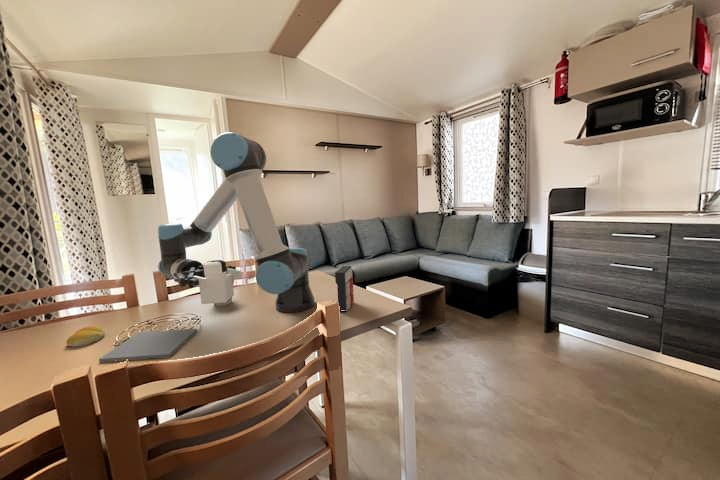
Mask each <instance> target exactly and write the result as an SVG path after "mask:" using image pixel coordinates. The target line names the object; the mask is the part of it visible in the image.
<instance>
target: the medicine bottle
mask: <svg viewBox="0 0 720 480" xmlns="http://www.w3.org/2000/svg"><path fill="white" fill-rule="evenodd" d="M202 265H203V266H204V275H205V276H206V277H205V278H207V284H208V288H202V287H199V292H200V293H199V294H200V301H201V304H202V305H207V304H209V305H210V304H214V303H226V302H227V301H228V300H229V299H230V298H231V297H232V298H233V297H234V295H235V291H234V286H233V279H232V274H226V273H227V271H226V266H227V263H226V261H225V260H221V259H219V260H215V259H214V260H209V261H206V262H205V263H203V264H202Z"/></svg>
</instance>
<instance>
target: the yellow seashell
mask: <svg viewBox="0 0 720 480" xmlns="http://www.w3.org/2000/svg"><path fill="white" fill-rule="evenodd" d="M105 334H106V332H105V330H104V328H103V327H100V326H98V325H89V326H84V327H81V328H79V329H78V330H76V331H75V332H74V333H73V334H72V335H70V336H69V337H68V338H67V340H66V346H67V347H68V346H69V347H75V348H76V347H82V346H86V345H90V344H93V343H95V342H98V341H99V340H101V339H102V338H103V337H104V336H105Z"/></svg>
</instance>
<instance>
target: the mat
mask: <svg viewBox="0 0 720 480" xmlns="http://www.w3.org/2000/svg"><path fill="white" fill-rule="evenodd" d="M196 333H198V328H188V329H187V328H186V329H185V328H184V329H171V330H155V331H144V332H143V331H142V332H141V331H140V332H138V333H136V334H134V335H133V336H131V337H129V338H128V339H126V340H125V341H124V342H122V343H121V344H120V345H118V346H116V347H115V348H113V349H112V350H111V351H108V353H106V354H104V355H103V356H101V357H100V358H99V359H98V361H99V363H110V361H114V362H124V361H125V360H126V359H128V361H139V360H140V361H141V359H142V360H150V359H149V358H156V359H168V358H171V357H172V356H173V355H174V354H175V353H177V351H179V349H180V348H182V347H183V346H184V345H185V343H187V342H188V341H189V340H190V339H191V338H192V337H193V336H195V335H196ZM115 360H116V361H115ZM123 360H124V361H123Z"/></svg>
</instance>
